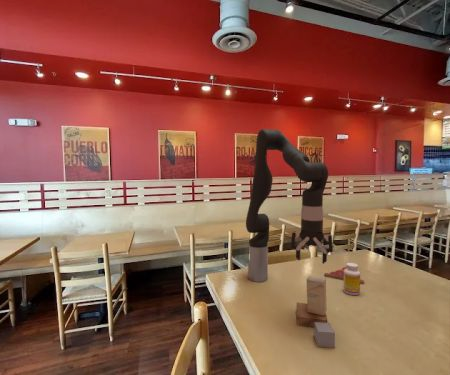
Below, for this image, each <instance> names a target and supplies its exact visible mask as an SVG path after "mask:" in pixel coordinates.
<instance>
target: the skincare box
mask: <svg viewBox="0 0 450 375" xmlns="http://www.w3.org/2000/svg"><path fill="white" fill-rule="evenodd" d="M326 278H327V277H319V276H313V275H308V276H307V278H306V303H307V311H308V312H310V313H314V314H319V315H323V316H325V314H326V315H327V310H328V309H327V308H328V307H327V306H328V305H327V279H326Z"/></svg>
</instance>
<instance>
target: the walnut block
mask: <svg viewBox="0 0 450 375" xmlns="http://www.w3.org/2000/svg"><path fill="white" fill-rule="evenodd" d="M296 321H297V322H296V323H297V327H304V328H309V329H310V328H312V329H314V328H315V322H319V323H329V322H328V317H327V313H326V314H325V316H323V315H319V314H314V313H310V312H308V311H307V302H296Z"/></svg>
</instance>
